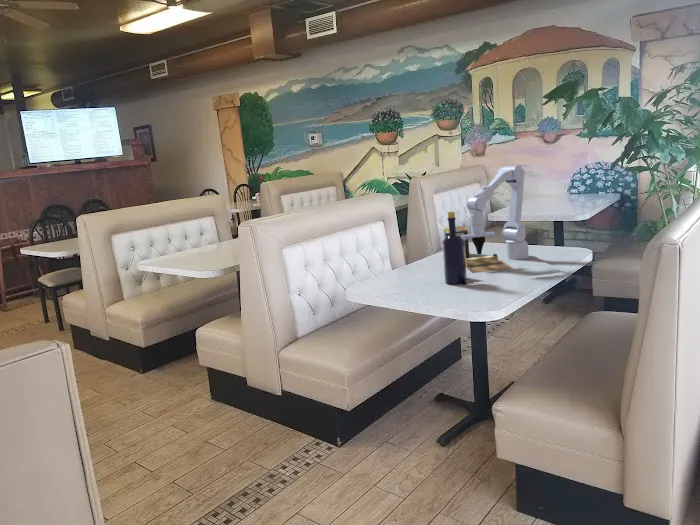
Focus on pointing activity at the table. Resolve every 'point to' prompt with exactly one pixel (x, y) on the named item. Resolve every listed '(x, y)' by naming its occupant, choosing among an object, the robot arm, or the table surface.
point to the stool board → (489, 267)
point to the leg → (481, 260)
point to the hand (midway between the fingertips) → (479, 254)
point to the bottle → (454, 255)
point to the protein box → (460, 232)
